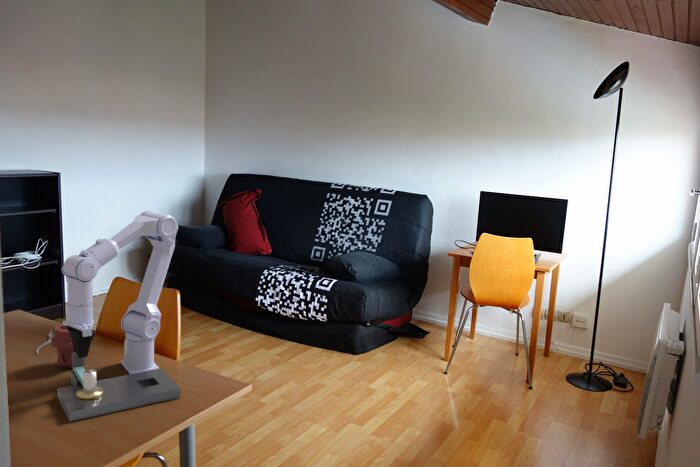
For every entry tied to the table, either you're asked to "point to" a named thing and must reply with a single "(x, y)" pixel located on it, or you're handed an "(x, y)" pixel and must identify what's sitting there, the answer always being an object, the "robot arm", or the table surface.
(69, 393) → the block
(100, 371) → the table surface
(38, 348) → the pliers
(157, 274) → the robot arm
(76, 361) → the locking bolt
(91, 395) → the gold disc with post
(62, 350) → the mechanical component
